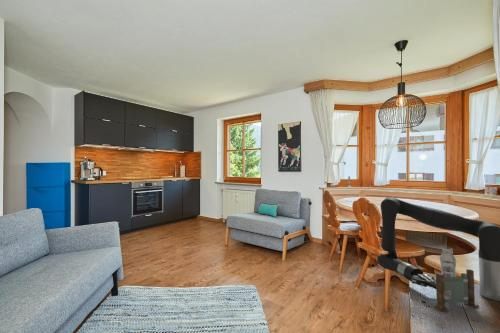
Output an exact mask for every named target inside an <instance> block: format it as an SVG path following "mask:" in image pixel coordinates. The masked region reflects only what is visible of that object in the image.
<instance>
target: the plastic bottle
mask: <svg viewBox="0 0 500 333" xmlns="http://www.w3.org/2000/svg"><path fill="white" fill-rule="evenodd" d="M453 253H454V252H453V248H451V247H447V246H445V247H442V253H441V255H440V256H439V262H440V272H441V273H442V274H444V277H457V275H456V270H457V269H456V267H457V259H456V256H455V255H454V254H453Z"/></svg>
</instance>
